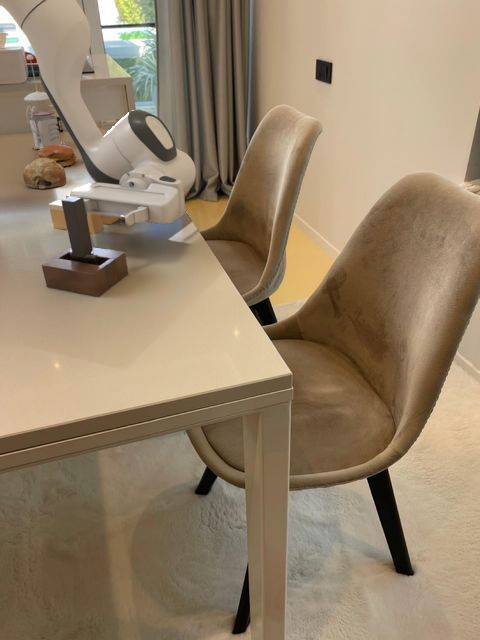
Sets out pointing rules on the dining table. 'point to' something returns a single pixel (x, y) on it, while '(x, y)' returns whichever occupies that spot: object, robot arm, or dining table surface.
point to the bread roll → (44, 174)
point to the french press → (42, 120)
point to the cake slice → (60, 222)
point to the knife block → (85, 272)
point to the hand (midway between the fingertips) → (100, 217)
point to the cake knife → (78, 231)
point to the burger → (58, 154)
